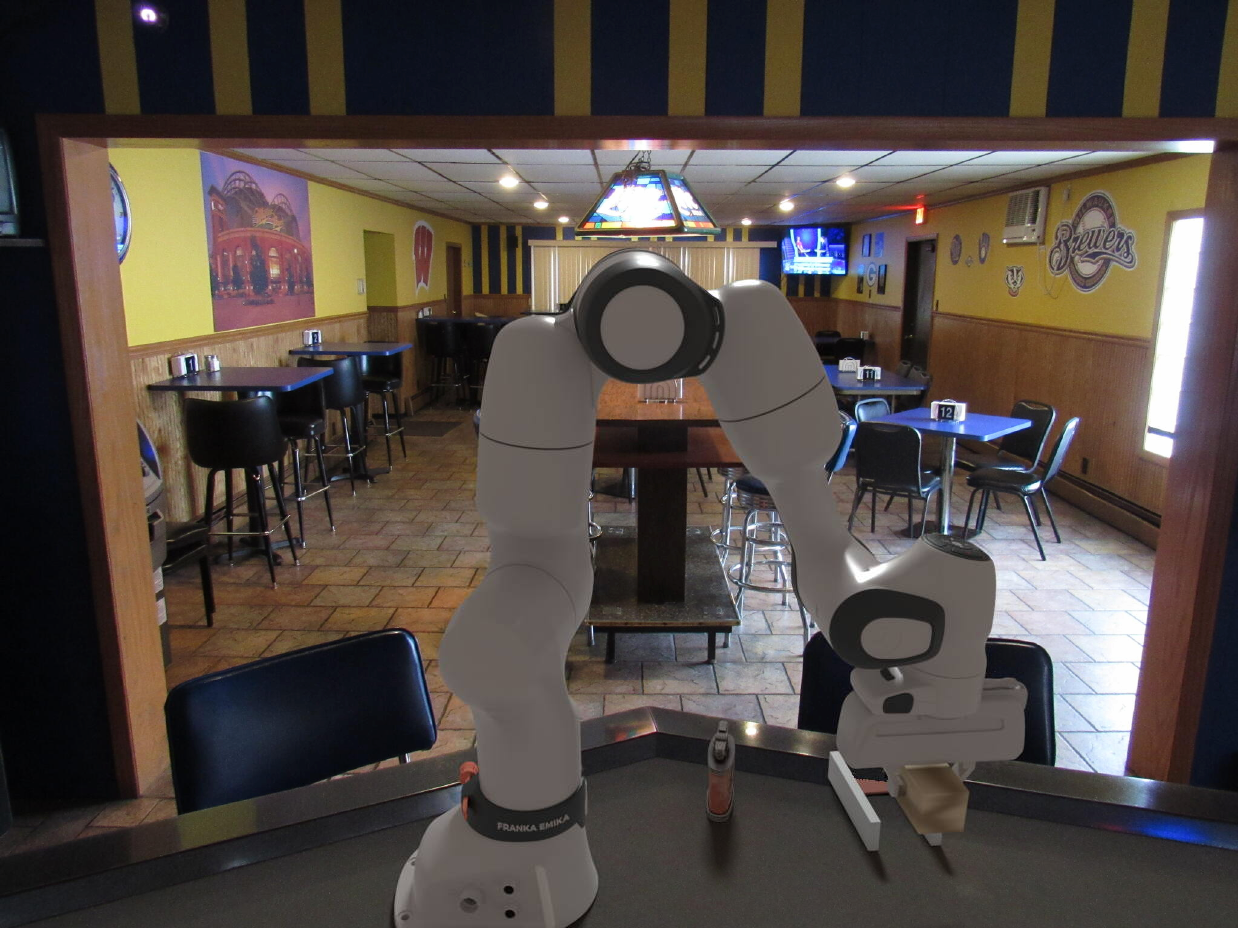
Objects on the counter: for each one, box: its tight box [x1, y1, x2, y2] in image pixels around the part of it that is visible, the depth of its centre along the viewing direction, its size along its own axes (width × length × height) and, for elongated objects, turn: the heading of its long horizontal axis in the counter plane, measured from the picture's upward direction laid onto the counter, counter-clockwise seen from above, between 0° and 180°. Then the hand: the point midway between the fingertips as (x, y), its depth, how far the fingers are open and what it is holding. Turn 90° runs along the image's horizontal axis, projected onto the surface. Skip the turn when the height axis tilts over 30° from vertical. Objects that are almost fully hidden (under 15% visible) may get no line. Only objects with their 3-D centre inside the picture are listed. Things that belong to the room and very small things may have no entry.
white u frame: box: [827, 750, 943, 852], centre depth 107 cm, size 9×14×4 cm, turn 6°
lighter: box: [706, 720, 736, 823], centre depth 108 cm, size 8×3×10 cm, turn 168°
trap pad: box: [855, 778, 890, 796], centre depth 112 cm, size 6×4×1 cm, turn 96°
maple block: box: [894, 763, 970, 835], centre depth 93 cm, size 5×7×5 cm
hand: (923, 791), depth 94 cm, fingers closed on maple block, 5 cm apart
